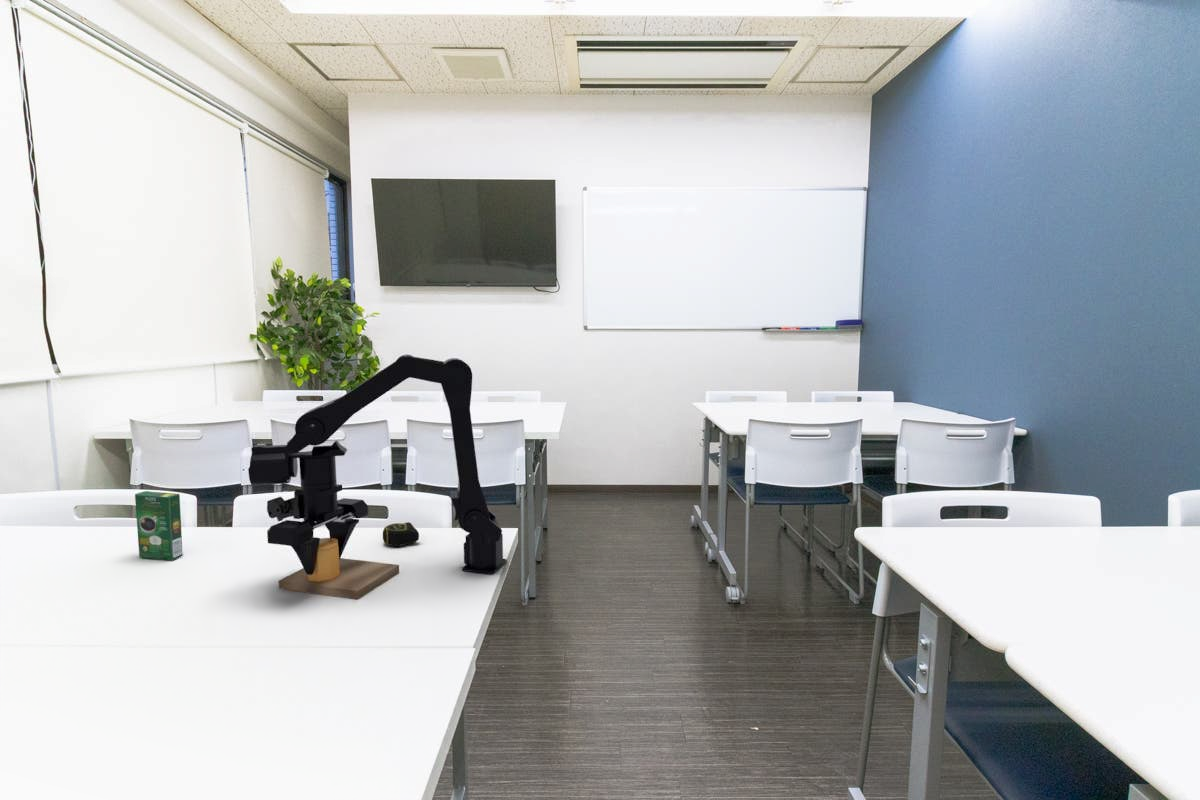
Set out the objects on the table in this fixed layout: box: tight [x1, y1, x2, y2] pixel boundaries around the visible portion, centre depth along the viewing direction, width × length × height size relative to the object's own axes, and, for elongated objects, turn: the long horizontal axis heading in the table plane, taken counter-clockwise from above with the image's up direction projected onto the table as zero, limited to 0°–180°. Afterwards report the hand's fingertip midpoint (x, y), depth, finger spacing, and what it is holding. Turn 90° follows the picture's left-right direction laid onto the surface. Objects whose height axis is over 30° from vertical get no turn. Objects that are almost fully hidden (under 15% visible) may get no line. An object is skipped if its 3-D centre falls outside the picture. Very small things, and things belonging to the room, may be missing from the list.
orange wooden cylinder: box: [308, 537, 340, 581], centre depth 110 cm, size 5×5×6 cm
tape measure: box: [382, 522, 420, 547], centre depth 131 cm, size 7×7×4 cm
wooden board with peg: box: [278, 557, 400, 600], centre depth 111 cm, size 16×12×6 cm
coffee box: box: [134, 490, 184, 561], centre depth 122 cm, size 8×3×13 cm, turn 79°
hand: (323, 567), depth 110 cm, fingers open, 6 cm apart
